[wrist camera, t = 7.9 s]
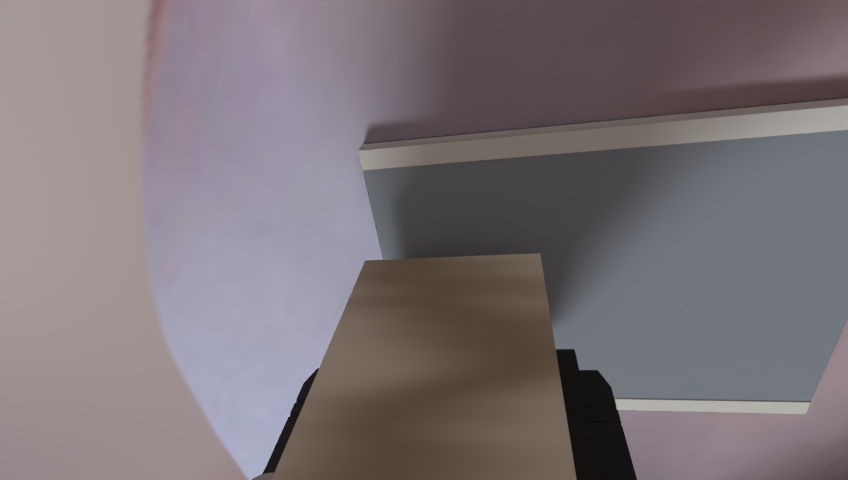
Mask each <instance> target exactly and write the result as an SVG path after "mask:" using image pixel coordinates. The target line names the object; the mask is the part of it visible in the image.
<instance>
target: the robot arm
mask: <svg viewBox="0 0 848 480" xmlns="http://www.w3.org/2000/svg"><path fill="white" fill-rule="evenodd" d="M556 354H557V361H558V367H559V373H560V379H561V386H562V392H563V398H564V404H565V410H566V417H567V423H568V429H569V435H570V442H571V448H572V454H573V460H574V467H575V473H576V479H577V480H637V478H636V475H635V471H634V468H633V464H632V460H631V457H630V453H629V449H628V446H627V442H626V439H625V435H624V431H623V428H622V426H621V421H620V417H619V413H618V410H617V408H616V403H615V399H614V395H613V392H612V388H611V386H610V385H609V384H608V382H607V381H606V380H605V379H604V377H603V376H602V375H601V374H600V372H599V371H598V370H579V367H578V362H577V357H576V353H575V350H574V349H556ZM318 370H319V369H317V370H316V371H315V372H314V373H313V374H312V375H311V376H310V377H309V378H308V379H307V380H306V381H305V383H304V384H303V386H302V389H301V391H300V393H299V395H298V397H297V402H296V403H295V404H294V406H293V408H292V411H291V413H290V417H288V420H287V422H286V424H285V426H284V428H283V431H282V433H281V435H280V437H279V440H278V442H277V444H276V446H275V448H274V451H273V453H272V455H271V457H270V459H269V462H268V464H267V466H266V468H265V470H264V472H263V474H262V475H259V476H257V477H255V478H254V479H252V480H272V477H273V475H274V473H275V470H276V468H277V466H278V463H279V461H280V459H281V456H282V454H283V452H284V449H285V447H286V445H287V442H288V440H289V438H290V435H291V433H292V431H293V428H294V426H295V424H296V421H297V419H298V417H299V414H300V412H301V410H302V407H303V405H304V403H305V400H306V398H307V396H308V393H309V391H310V389H311V386H312V384H313V382H314V379H315V377H316V375H317V372H318Z"/></svg>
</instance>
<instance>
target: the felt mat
mask: <svg viewBox="0 0 848 480" xmlns="http://www.w3.org/2000/svg"><path fill="white" fill-rule="evenodd" d="M358 153H359V158H360V162H361V167H362V170H363V173H364V178H365V182H366V186H367V191H368V195H369V200H370V204H371V208H372V213H373V217H374V222H375V226H376V230H377V235H378V239H379V243H380V248H381V252H382V257H383V260H393V259H416V258H439V257H463V256H486V255H509V254H533V253H540V254H541V261H542V267H543V273H544V279H545V286H546V292H547V298H548V304H549V311H550V317H551V323H552V329H553V336H554V342H555V348H556V349H574V350H575V353H576V357H577V362H578V367H579V370H598V371H599V372H600V374H601V375H602V376H603V377H604V379H605V380H606V381H607V382H608V384H609V385H610V386H611V388H612V392H613V395H614V399H615V403H616V408H617V410H646V411H691V412H737V413H782V414H806V412H807V410H808V408H809V406H810V403H811V402H810V401H811V399H812V397H813V394H814V392H815V390H816V388H817V385H818V383H819V381H820V379H821V377H822V374H823V372H824V370H825V368H826V366H827V363H828V361H829V359H830V357H831V354H832V352H833V350H834V348H835V346H836V343H837V341H838V339H839V337H840V335H841V332H842V330H843V328H844V326H845V323H846V321H847V319H848V98H843V99H832V100H822V101H811V102H801V103H790V104H780V105H770V106H759V107H749V108H738V109H728V110H717V111H707V112H696V113H686V114H675V115H665V116H654V117H644V118H633V119H623V120H612V121H602V122H591V123H581V124H570V125H560V126H549V127H539V128H529V129H518V130H508V131H497V132H487V133H476V134H466V135H455V136H445V137H434V138H424V139H413V140H403V141H392V142H382V143H371V144H363V145H362V146H361V147H360V149H359V150H358Z"/></svg>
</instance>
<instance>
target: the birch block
mask: <svg viewBox="0 0 848 480" xmlns="http://www.w3.org/2000/svg"><path fill="white" fill-rule="evenodd" d="M272 480H577V479H576V473H575V467H574V460H573V454H572V448H571V442H570V435H569V429H568V423H567V417H566V410H565V404H564V398H563V392H562V386H561V379H560V373H559V367H558V361H557V354H556V348H555V342H554V336H553V329H552V323H551V317H550V311H549V304H548V298H547V292H546V286H545V279H544V273H543V267H542V261H541V254H540V253H533V254H509V255H486V256H463V257H439V258H416V259H393V260H369V261H365V263H364V265H363V267H362V270H361V272H360V274H359V277H358V279H357V281H356V284H355V286H354V288H353V291H352V293H351V295H350V298H349V300H348V302H347V305H346V307H345V309H344V312H343V314H342V316H341V319H340V321H339V323H338V326H337V328H336V330H335V333H334V335H333V337H332V340H331V342H330V344H329V347H328V349H327V351H326V354H325V356H324V358H323V361H322V363H321V365H320V368H319V370H318V372H317V375H316V377H315V379H314V382H313V384H312V386H311V389H310V391H309V393H308V396H307V398H306V400H305V403H304V405H303V407H302V410H301V412H300V414H299V417H298V419H297V421H296V424H295V426H294V428H293V431H292V433H291V435H290V438H289V440H288V442H287V445H286V447H285V449H284V452H283V454H282V456H281V459H280V461H279V463H278V466H277V468H276V470H275V473H274V475H273V477H272Z"/></svg>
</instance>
